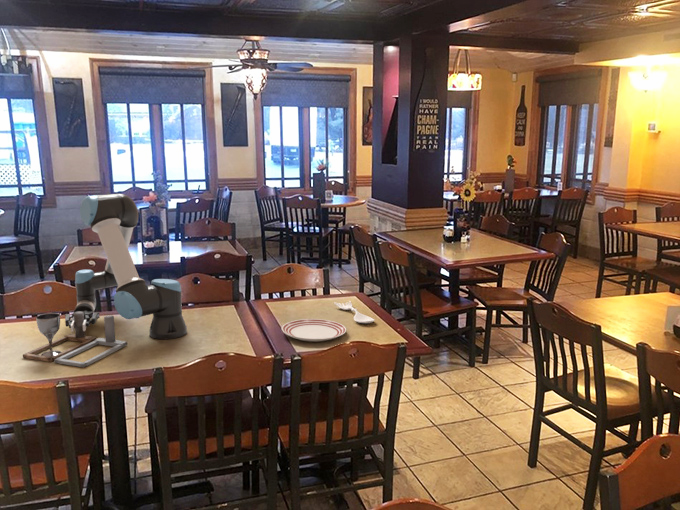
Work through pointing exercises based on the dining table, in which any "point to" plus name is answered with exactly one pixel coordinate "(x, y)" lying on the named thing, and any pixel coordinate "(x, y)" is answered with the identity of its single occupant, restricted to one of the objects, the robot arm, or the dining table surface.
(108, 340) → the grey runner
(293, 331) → the dinner plate
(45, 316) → the wine glass
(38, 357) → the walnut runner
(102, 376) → the dining table surface
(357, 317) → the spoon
